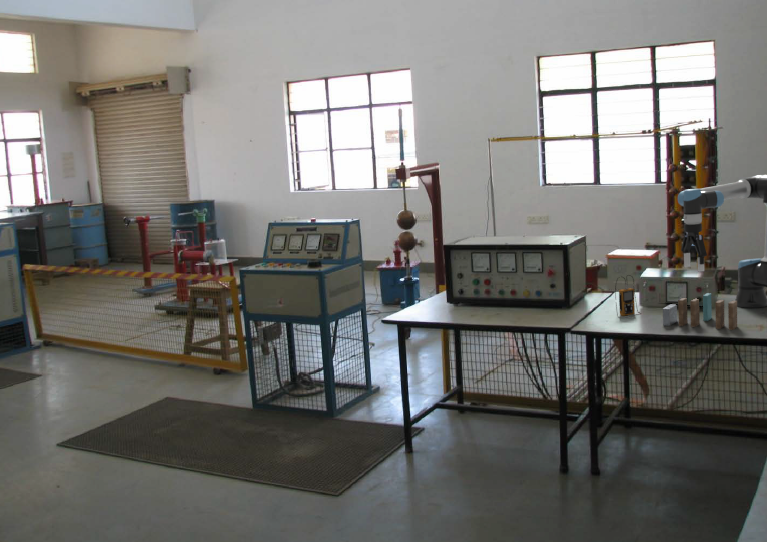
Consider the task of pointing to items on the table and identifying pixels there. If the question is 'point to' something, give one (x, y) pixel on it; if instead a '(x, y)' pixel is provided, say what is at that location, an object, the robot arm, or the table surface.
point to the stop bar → (669, 315)
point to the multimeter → (626, 301)
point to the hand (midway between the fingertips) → (694, 269)
